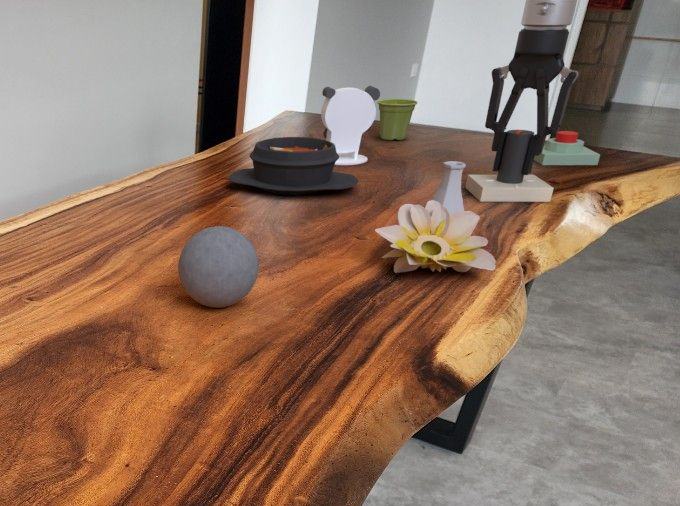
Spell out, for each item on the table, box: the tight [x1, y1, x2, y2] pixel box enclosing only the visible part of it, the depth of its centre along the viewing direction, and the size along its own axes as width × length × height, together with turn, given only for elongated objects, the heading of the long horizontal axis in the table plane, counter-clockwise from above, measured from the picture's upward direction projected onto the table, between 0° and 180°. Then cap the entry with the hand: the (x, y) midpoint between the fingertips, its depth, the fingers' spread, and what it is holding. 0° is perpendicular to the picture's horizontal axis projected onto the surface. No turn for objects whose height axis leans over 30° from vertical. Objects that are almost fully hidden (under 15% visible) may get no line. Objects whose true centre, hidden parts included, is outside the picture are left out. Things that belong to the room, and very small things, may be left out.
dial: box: [496, 129, 535, 184], centre depth 129 cm, size 4×4×9 cm
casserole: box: [227, 136, 359, 196], centre depth 139 cm, size 25×19×8 cm
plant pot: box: [377, 98, 419, 141], centre depth 178 cm, size 9×9×9 cm
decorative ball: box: [177, 225, 260, 309], centre depth 90 cm, size 10×10×10 cm
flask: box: [431, 160, 467, 216], centre depth 115 cm, size 7×7×10 cm
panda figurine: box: [320, 85, 381, 166], centre depth 158 cm, size 12×11×15 cm
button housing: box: [534, 137, 601, 166], centre depth 154 cm, size 11×10×4 cm
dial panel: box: [464, 174, 555, 203], centre depth 132 cm, size 12×10×3 cm
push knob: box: [555, 130, 579, 143], centre depth 153 cm, size 4×4×2 cm
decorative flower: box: [374, 199, 497, 274], centre depth 97 cm, size 15×11×10 cm
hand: (511, 171), depth 131 cm, fingers closed on dial, 4 cm apart
